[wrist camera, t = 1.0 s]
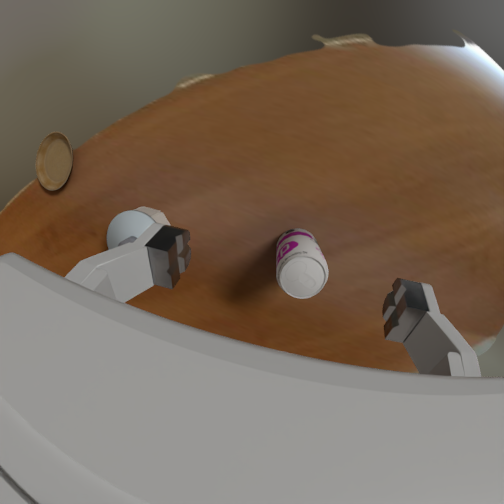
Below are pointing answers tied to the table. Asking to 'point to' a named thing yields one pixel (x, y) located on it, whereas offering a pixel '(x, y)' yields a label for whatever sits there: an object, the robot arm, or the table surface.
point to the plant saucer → (54, 161)
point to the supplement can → (300, 264)
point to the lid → (127, 227)
